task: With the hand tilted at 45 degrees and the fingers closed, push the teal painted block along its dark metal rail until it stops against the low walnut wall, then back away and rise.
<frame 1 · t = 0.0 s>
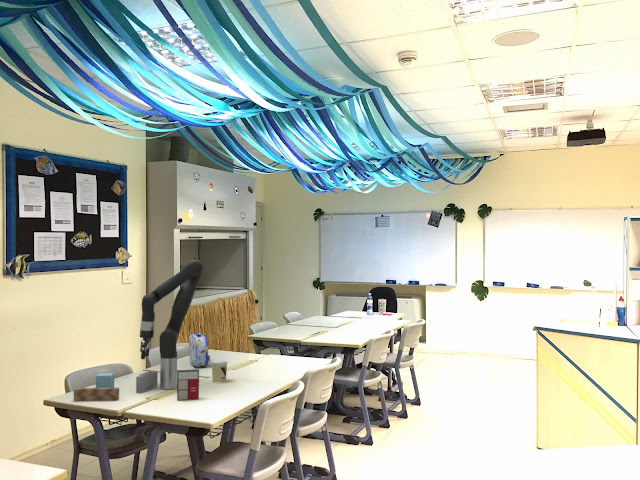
hand: (144, 357, 308), 17 cm above the table, tool pointing down, fingers open, 8 cm apart
coffee cup: (219, 381, 325), on the table
gray and red box: (187, 399, 285), on the table
cassette player: (147, 390, 304), on the table
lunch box: (198, 365, 372), on the table
sliding block: (105, 382, 297), point 6 cm above the table, slide at 0.0 cm
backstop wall: (96, 400, 283), on the table
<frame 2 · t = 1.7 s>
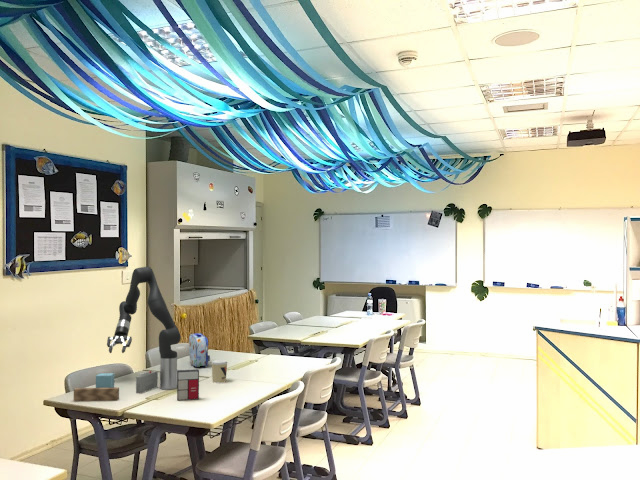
hand: (116, 352, 317), 18 cm above the table, tool tilted 45°, fingers open, 6 cm apart
nothing on the table moved.
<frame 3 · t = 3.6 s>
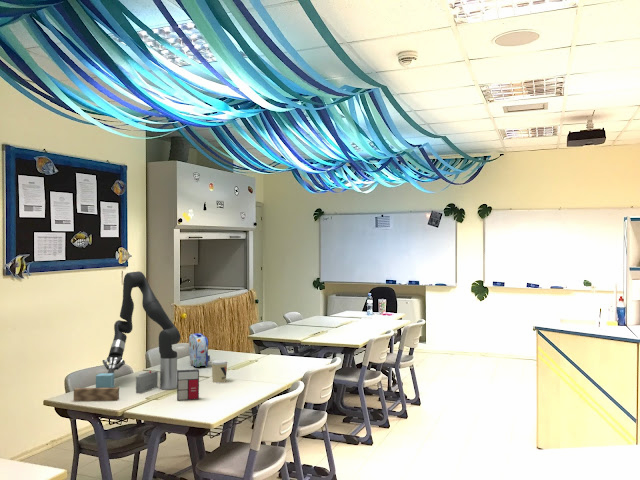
hand: (110, 375, 306), 8 cm above the table, tool tilted 45°, fingers closed
nothing on the table moved.
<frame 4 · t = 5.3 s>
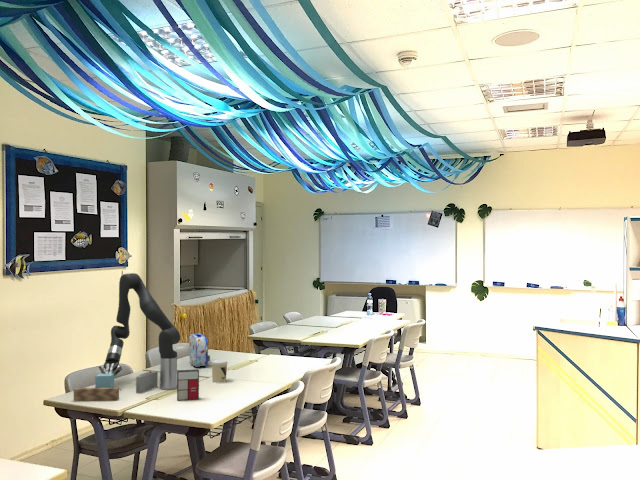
hand: (106, 381, 300), 5 cm above the table, tool tilted 45°, fingers closed
sliding block: (104, 383, 296), point 6 cm above the table, slide at 0.7 cm, touching gripper
everything else where it was.
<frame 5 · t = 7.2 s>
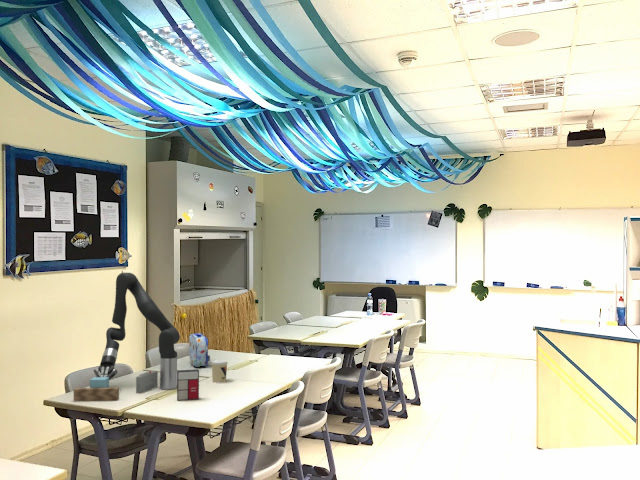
hand: (101, 385, 291), 5 cm above the table, tool tilted 45°, fingers closed
sliding block: (99, 387, 288), point 6 cm above the table, slide at 9.4 cm, touching gripper
everything else where it was.
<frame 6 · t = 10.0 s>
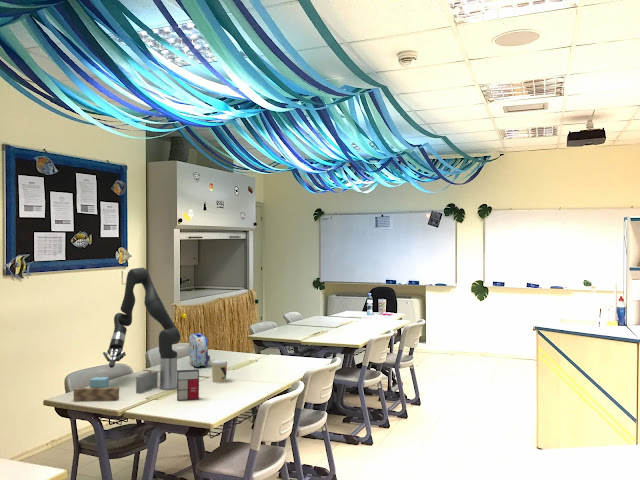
hand: (111, 366, 307), 12 cm above the table, tool tilted 45°, fingers closed
sliding block: (99, 387, 288), point 6 cm above the table, slide at 9.3 cm
everything else where it was.
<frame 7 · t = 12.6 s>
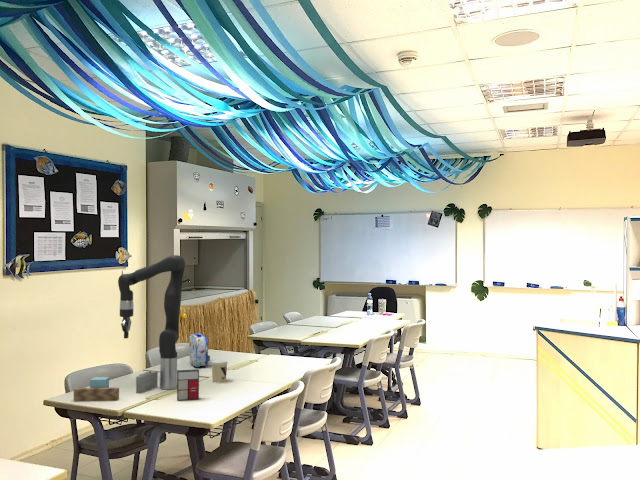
hand: (126, 338, 316), 27 cm above the table, tool pointing down, fingers closed
nothing on the table moved.
at the end: sliding block slide at 9.3 cm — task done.
